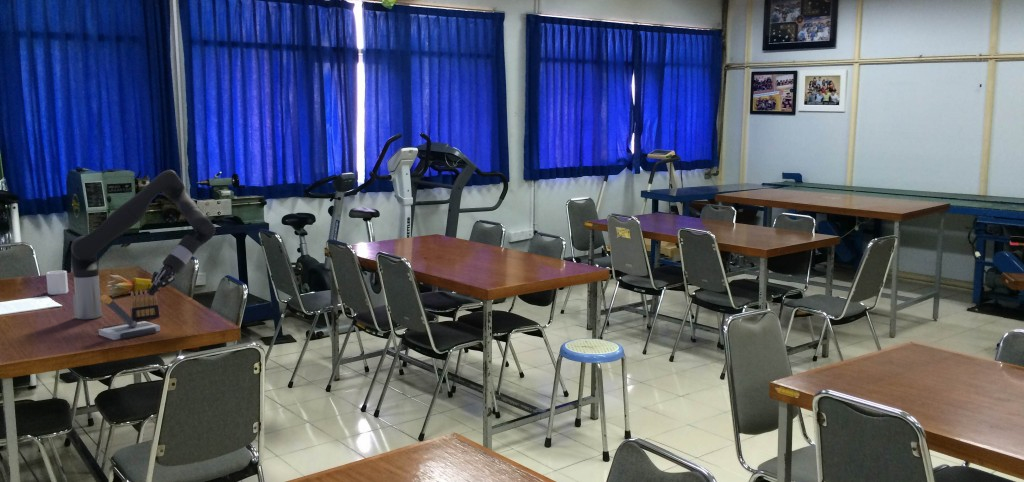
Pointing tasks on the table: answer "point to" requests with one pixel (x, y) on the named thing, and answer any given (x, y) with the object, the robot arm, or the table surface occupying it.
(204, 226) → the robot arm
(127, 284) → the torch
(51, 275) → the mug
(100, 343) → the table surface
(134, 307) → the ammunition clip
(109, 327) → the grey bar
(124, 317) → the lever
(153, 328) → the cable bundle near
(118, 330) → the grey flat slab
